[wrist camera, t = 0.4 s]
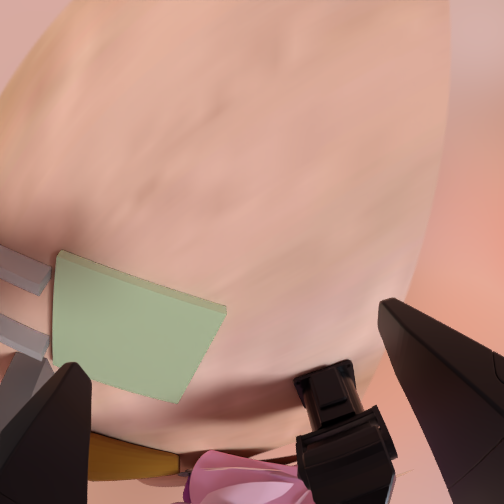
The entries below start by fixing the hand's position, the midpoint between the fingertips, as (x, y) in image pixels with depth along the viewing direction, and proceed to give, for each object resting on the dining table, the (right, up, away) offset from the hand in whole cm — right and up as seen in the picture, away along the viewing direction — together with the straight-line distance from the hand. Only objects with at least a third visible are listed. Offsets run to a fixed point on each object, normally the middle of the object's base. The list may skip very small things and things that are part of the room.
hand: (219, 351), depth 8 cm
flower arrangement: (+3, -34, +36) cm, 50 cm away
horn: (-22, -25, +28) cm, 44 cm away
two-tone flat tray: (-15, -4, +16) cm, 22 cm away
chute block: (-24, -11, +19) cm, 32 cm away
